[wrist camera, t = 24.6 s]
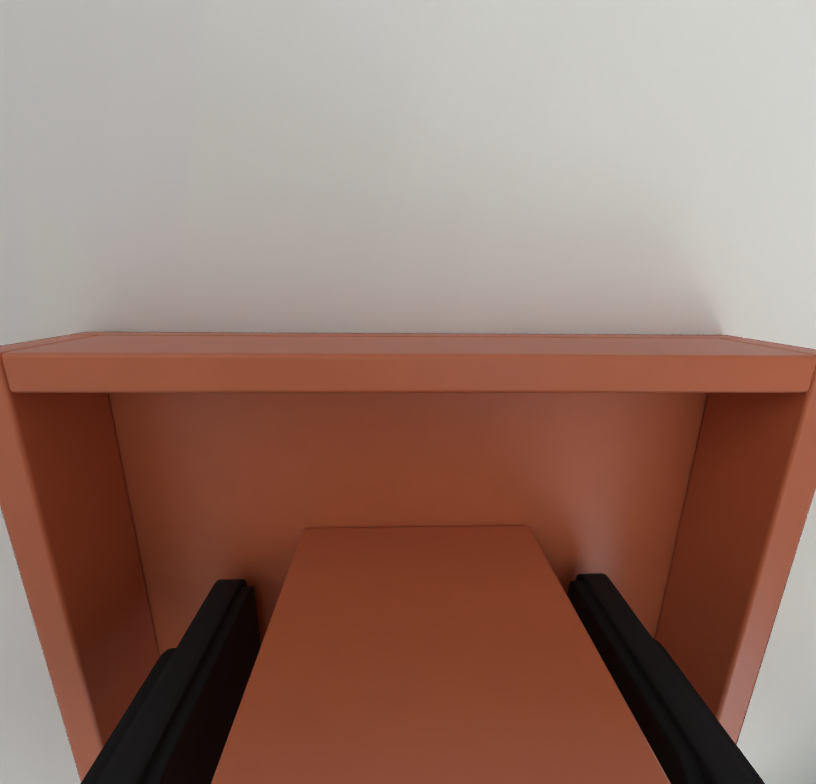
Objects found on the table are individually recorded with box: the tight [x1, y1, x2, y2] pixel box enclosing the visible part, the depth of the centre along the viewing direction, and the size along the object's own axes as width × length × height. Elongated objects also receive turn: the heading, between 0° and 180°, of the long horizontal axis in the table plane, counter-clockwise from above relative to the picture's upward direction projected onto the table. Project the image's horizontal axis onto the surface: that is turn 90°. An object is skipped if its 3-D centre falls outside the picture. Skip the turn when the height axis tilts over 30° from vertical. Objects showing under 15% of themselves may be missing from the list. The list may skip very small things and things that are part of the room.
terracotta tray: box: [0, 332, 816, 782], centre depth 9 cm, size 13×13×2 cm
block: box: [211, 525, 671, 784], centre depth 7 cm, size 5×5×5 cm
